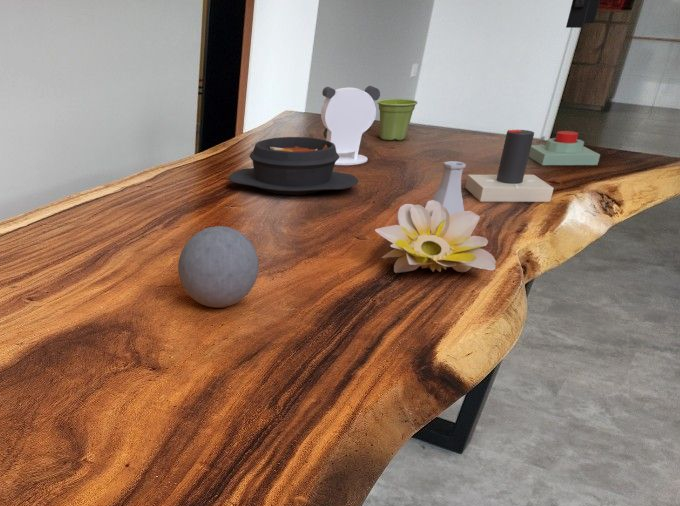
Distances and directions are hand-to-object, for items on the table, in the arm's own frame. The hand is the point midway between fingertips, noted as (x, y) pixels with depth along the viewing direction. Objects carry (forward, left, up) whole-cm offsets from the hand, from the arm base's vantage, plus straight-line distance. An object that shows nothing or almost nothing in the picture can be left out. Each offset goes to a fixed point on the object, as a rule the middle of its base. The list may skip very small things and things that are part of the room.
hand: (580, 25), depth 138 cm
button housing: (-5, -6, -26) cm, 27 cm away
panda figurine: (+41, -7, -27) cm, 49 cm away
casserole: (+54, +19, -27) cm, 63 cm away
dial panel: (+15, +23, -26) cm, 38 cm away
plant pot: (+26, -31, -27) cm, 48 cm away
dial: (+15, +23, -24) cm, 36 cm away
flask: (+31, +43, -27) cm, 59 cm away
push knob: (-5, -6, -23) cm, 24 cm away
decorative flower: (+38, +65, -27) cm, 80 cm away
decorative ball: (+67, +78, -27) cm, 106 cm away
